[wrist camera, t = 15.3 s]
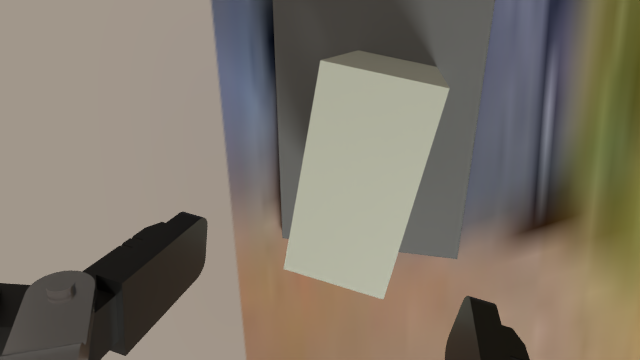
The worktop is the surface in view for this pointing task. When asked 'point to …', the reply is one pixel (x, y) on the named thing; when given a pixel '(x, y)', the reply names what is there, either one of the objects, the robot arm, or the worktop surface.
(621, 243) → the worktop surface
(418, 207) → the mat
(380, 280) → the tall sage green block
